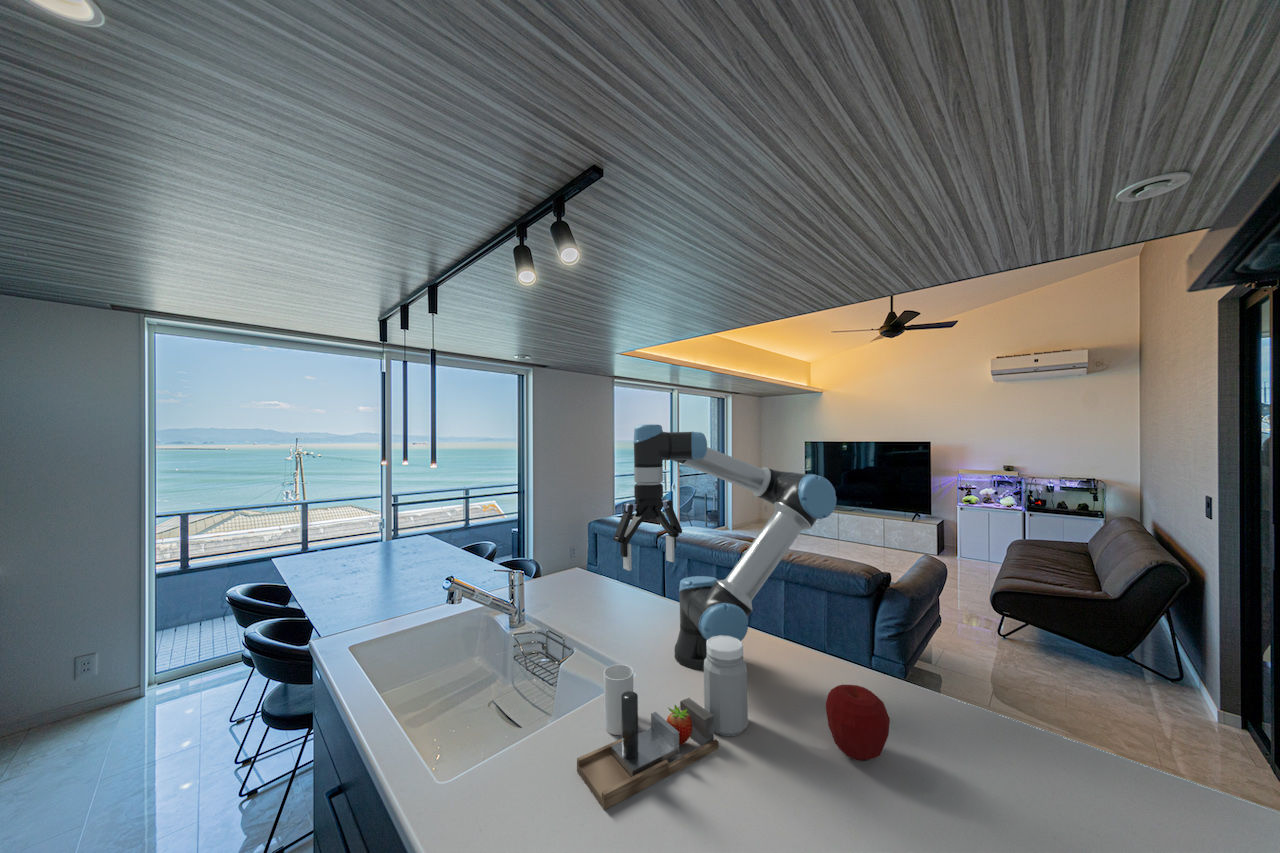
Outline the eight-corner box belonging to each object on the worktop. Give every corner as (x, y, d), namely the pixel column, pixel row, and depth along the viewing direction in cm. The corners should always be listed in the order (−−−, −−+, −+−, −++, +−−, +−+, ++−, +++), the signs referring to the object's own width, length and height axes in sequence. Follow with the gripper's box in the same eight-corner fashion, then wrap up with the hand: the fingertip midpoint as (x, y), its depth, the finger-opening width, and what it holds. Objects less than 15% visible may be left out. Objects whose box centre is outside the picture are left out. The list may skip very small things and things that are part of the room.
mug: (627, 739, 94) (626, 682, 95) (598, 732, 96) (598, 676, 97) (643, 712, 104) (642, 660, 104) (617, 706, 106) (616, 656, 106)
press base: (685, 721, 100) (684, 694, 100) (718, 749, 91) (718, 719, 91) (576, 771, 85) (576, 739, 85) (604, 810, 76) (604, 774, 76)
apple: (864, 785, 81) (862, 711, 81) (813, 746, 91) (811, 681, 92) (904, 762, 86) (901, 693, 87) (851, 729, 97) (849, 667, 97)
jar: (752, 717, 101) (750, 637, 102) (743, 743, 92) (741, 656, 93) (711, 707, 105) (709, 630, 106) (698, 731, 96) (697, 648, 97)
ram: (655, 731, 94) (655, 673, 94) (679, 753, 87) (678, 690, 88) (611, 752, 88) (610, 689, 88) (632, 777, 81) (631, 709, 81)
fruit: (688, 735, 95) (687, 697, 95) (695, 752, 90) (694, 712, 90) (664, 738, 94) (663, 700, 94) (670, 755, 89) (669, 715, 89)
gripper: (677, 479, 125) (678, 555, 124) (599, 485, 111) (600, 569, 111) (694, 481, 119) (695, 560, 118) (614, 487, 105) (615, 577, 104)
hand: (649, 565), depth 114 cm, fingers open, 13 cm apart
